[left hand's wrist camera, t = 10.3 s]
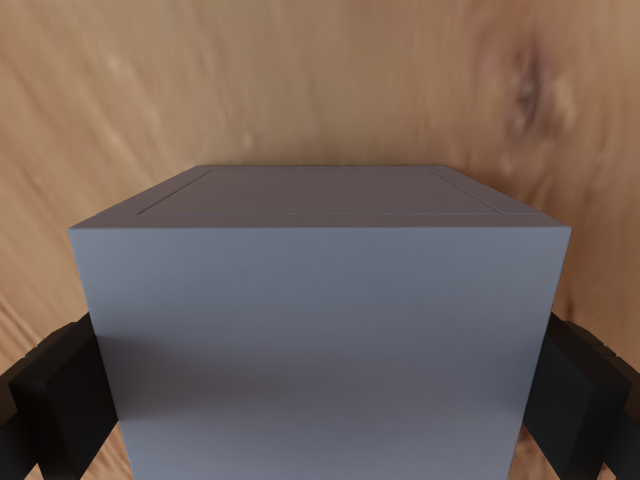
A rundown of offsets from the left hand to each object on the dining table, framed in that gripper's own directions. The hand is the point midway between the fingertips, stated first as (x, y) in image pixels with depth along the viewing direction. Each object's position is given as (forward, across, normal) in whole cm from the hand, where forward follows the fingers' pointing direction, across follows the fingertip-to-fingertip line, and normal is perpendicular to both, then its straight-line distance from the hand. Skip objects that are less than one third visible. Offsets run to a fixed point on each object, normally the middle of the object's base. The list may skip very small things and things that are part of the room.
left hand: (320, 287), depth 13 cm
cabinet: (+3, 0, -5) cm, 6 cm away
